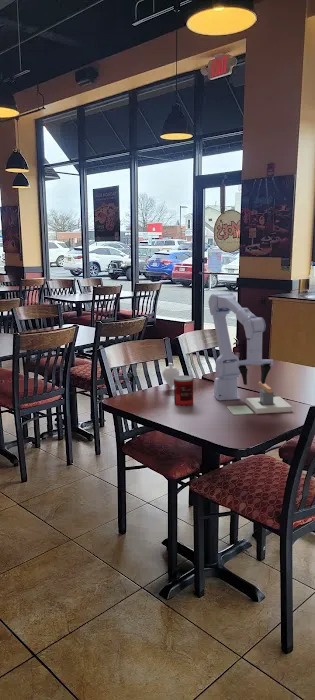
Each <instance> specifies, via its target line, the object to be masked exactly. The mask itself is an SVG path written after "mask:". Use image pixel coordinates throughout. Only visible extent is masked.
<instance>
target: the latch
mask: <svg viewBox="0 0 315 700" xmlns="http://www.w3.org/2000/svg"><path fill="white" fill-rule="evenodd" d="M258 387H259V388H260V387H262V388H263V390H265V391H266V392H268V393H271V392H272V390H273V389H272V388H271V387H270V386H269V385H268V384H267V383H265V384H262V383H261V381H258Z"/></svg>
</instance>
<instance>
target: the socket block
mask: <svg viewBox="0 0 315 700" xmlns="http://www.w3.org/2000/svg"><path fill="white" fill-rule="evenodd" d="M260 390H264V389H263V388H262V387H260V386H259V391H260ZM245 404H247V407H248V408H249V409H250V410H251V411H252V412H253V413H254V414H256V415H257V414H271V413H272V414H273V413H275V414H276V413H288V412H290V413H291V412H293V407H292V405H291V404H289V403H288V402H287V401H286V400H284V399H283V398H282V397H280V396H279V395H278V396H273V405H265V406H262V405H261V404H260V397H247V398H245Z"/></svg>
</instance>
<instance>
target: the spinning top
mask: <svg viewBox="0 0 315 700" xmlns="http://www.w3.org/2000/svg"><path fill="white" fill-rule="evenodd" d="M176 376H180V370H179V369H178V367H176V366H174V364H173V363H172V362H168V366H166V367H164V369H163V370H162V377H163V380H164V381H165V383H166V384H167V385H168V386H169V387H170V390H172V387H174V377H176Z"/></svg>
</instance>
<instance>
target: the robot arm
mask: <svg viewBox="0 0 315 700" xmlns="http://www.w3.org/2000/svg"><path fill="white" fill-rule="evenodd" d="M207 303H208V308H209V313H210V315H211V316H212V319H213V325H214V329H215V335H216V340H217V345H218V351H219V356H218V357H217V358H216V360H215V368H214V369H215V373H216V376H218V377H215V378H214V380H213V381H214V382H213V387H214V388H213V389H214V391H213V396H214V397H215V399H216V400H217V401H231V400H240V399H241V397H240V396H239V395H238V378H239V376H240V375H241V378H242V382H243V385H244V386H247V385H248V379H247V378H248V377H247V376H248V368H247V367H251V366H260V369H261V370H260V371H261V378H260V382H261V383H262V384H266V380H267V376H268V374H269V372H270V371H271V368H272V366H274V359H272V358H271V359H270V358H269V359H267V358H265V359H264V358H263V333H264V332H265V331H266V327H267V326H266V325H267V324H266V321H265V319H264V317H262V316H261V317H259V316H256V315H255V314H254V312H253V313H252V312H251V310H250V309H249V308H248V307H242V306H241V305H240V303H239V302H238V301H237V298H236V295H235V294H234V293H233V292H229V293H227V292H226V293H211V294H210V296H209V299H208V302H207ZM231 312H232V313H233V314H235V318H236V320H237V321H238V322H239V323H240V324H241V325H242V326H243V329H244V331H245V332H244V333H245V338H246V359H243V360H241V359H239V356H238V355H236V354H234V352H233V350H232V344H231V339H230V334H229V329H228V328H229V327H228V324H227V315H229V314H230V313H231Z"/></svg>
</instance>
